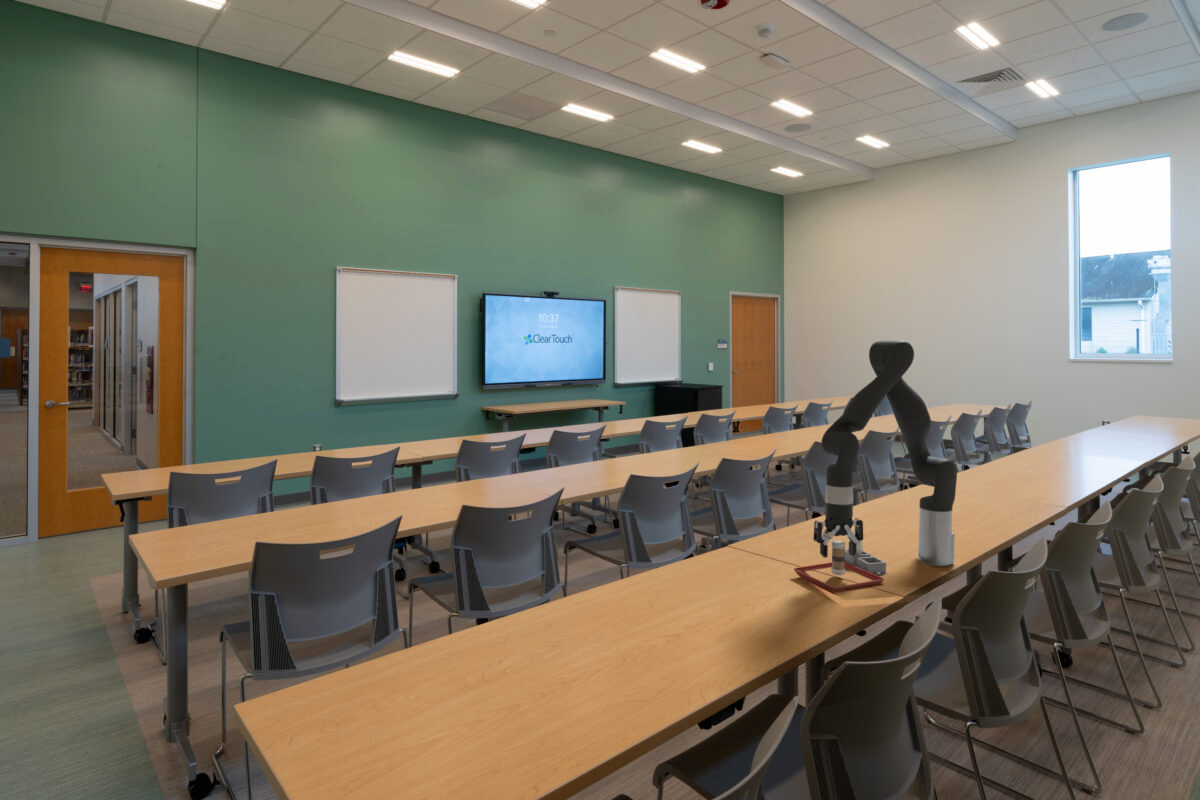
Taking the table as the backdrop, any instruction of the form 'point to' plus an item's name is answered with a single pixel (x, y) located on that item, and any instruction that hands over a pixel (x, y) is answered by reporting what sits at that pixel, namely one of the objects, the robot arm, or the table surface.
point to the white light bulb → (859, 547)
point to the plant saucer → (827, 587)
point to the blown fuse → (838, 557)
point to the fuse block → (866, 563)
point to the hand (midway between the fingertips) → (838, 555)
